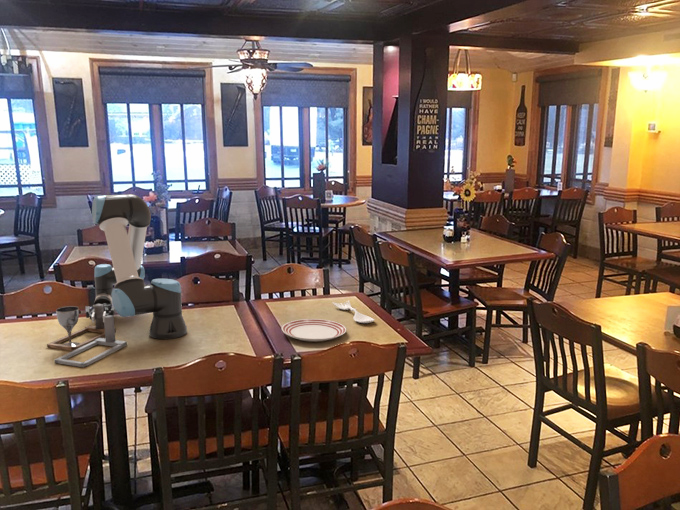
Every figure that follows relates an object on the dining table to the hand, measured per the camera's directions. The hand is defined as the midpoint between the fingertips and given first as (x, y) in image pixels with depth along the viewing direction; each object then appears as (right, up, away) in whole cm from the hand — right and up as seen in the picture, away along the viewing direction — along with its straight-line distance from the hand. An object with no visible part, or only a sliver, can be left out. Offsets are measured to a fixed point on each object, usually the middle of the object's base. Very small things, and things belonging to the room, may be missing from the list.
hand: (98, 319), depth 240 cm
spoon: (+106, -2, +34) cm, 112 cm away
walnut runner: (-5, -8, -4) cm, 10 cm away
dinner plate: (+89, -8, +7) cm, 89 cm away
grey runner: (+5, -11, -19) cm, 23 cm away
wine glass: (-7, -9, -10) cm, 15 cm away
